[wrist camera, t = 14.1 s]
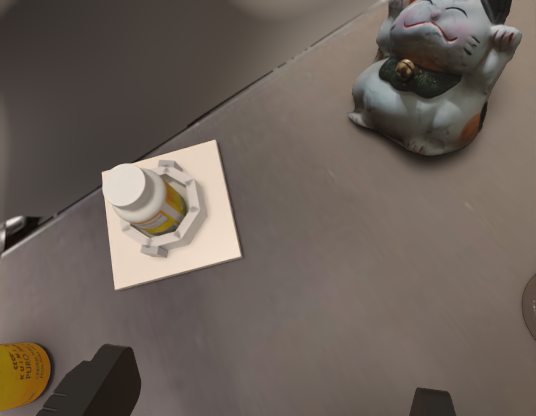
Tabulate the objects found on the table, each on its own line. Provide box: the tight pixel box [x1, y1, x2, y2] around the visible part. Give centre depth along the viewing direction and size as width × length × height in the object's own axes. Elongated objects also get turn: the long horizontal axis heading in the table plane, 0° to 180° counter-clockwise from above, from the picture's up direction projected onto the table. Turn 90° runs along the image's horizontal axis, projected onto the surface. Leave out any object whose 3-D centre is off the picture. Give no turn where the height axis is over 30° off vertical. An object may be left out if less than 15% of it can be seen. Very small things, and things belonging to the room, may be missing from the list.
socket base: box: [102, 140, 243, 291], centre depth 42 cm, size 14×14×4 cm
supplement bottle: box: [103, 164, 188, 236], centre depth 38 cm, size 5×5×10 cm
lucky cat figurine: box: [347, 0, 522, 156], centre depth 38 cm, size 15×12×14 cm
